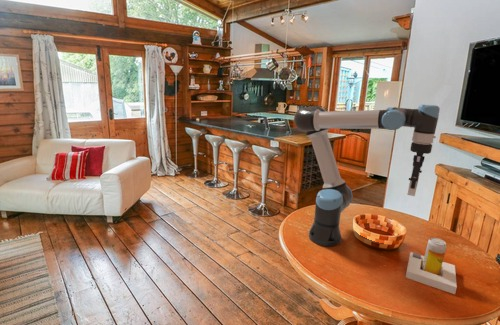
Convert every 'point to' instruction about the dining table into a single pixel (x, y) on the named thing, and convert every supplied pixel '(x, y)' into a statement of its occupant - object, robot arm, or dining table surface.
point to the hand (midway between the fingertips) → (412, 190)
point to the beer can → (434, 256)
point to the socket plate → (441, 282)
